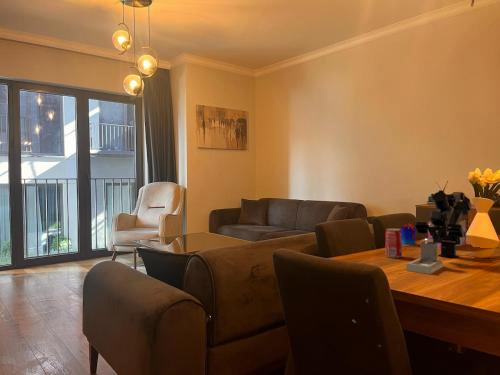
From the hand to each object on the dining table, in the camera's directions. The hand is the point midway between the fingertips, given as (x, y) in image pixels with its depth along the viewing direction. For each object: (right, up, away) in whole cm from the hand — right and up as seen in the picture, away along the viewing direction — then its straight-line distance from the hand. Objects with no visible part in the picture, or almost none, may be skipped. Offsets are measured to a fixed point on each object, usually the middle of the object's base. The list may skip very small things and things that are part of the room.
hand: (434, 244), depth 166 cm
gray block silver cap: (-4, -7, -5) cm, 10 cm away
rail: (-7, -9, -8) cm, 14 cm away
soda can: (-12, -8, +15) cm, 21 cm away
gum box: (+28, -8, +44) cm, 53 cm away
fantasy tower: (+8, -8, +46) cm, 48 cm away
